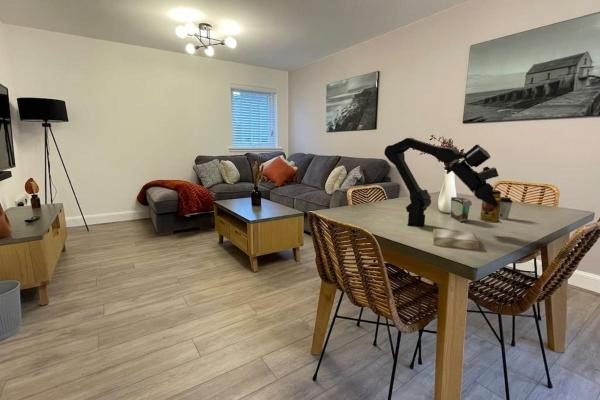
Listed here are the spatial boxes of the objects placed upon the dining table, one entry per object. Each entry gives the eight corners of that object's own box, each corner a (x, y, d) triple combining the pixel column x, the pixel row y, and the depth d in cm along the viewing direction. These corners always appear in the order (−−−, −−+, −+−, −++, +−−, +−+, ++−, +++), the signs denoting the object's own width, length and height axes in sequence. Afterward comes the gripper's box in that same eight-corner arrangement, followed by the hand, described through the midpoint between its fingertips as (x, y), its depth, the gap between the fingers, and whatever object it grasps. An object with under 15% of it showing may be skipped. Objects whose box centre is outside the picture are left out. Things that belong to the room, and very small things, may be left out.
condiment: (480, 222, 113) (484, 191, 111) (476, 217, 121) (479, 188, 118) (503, 224, 110) (507, 192, 108) (496, 218, 118) (500, 189, 116)
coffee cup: (502, 220, 138) (505, 199, 136) (489, 217, 145) (492, 197, 143) (514, 219, 140) (517, 199, 138) (501, 216, 146) (503, 196, 144)
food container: (475, 223, 134) (478, 201, 132) (462, 223, 134) (464, 201, 132) (461, 216, 146) (463, 196, 144) (449, 216, 146) (450, 196, 144)
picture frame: (433, 244, 106) (434, 236, 106) (432, 235, 117) (433, 228, 117) (478, 249, 101) (479, 241, 100) (473, 239, 112) (474, 231, 111)
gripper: (489, 161, 103) (523, 194, 101) (481, 158, 120) (509, 187, 118) (462, 182, 108) (493, 214, 106) (457, 177, 125) (484, 204, 122)
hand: (496, 204), depth 113 cm, fingers closed on condiment, 6 cm apart
